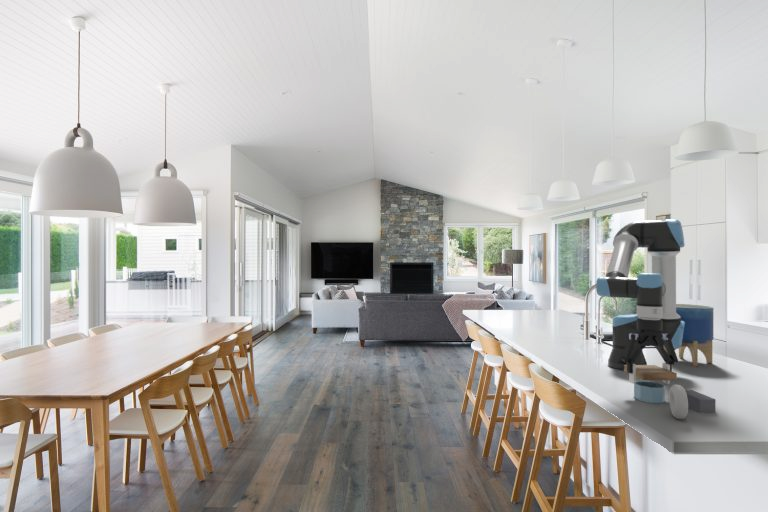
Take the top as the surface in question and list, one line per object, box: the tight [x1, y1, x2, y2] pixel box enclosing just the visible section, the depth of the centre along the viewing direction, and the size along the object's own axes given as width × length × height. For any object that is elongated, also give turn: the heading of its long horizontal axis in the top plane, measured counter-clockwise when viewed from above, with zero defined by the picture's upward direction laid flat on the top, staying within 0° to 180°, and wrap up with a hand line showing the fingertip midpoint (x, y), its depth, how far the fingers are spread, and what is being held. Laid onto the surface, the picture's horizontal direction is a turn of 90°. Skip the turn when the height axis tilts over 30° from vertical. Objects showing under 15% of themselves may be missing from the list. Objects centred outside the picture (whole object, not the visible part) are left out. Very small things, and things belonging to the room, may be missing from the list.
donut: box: [668, 383, 689, 420], centre depth 129 cm, size 10×3×10 cm, turn 158°
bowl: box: [633, 380, 666, 404], centre depth 147 cm, size 8×8×5 cm
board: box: [623, 364, 678, 382], centre depth 147 cm, size 11×11×2 cm
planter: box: [664, 303, 714, 367], centre depth 203 cm, size 19×19×26 cm
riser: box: [685, 389, 717, 413], centre depth 140 cm, size 10×5×4 cm, turn 2°
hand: (649, 382), depth 147 cm, fingers closed on board, 11 cm apart
